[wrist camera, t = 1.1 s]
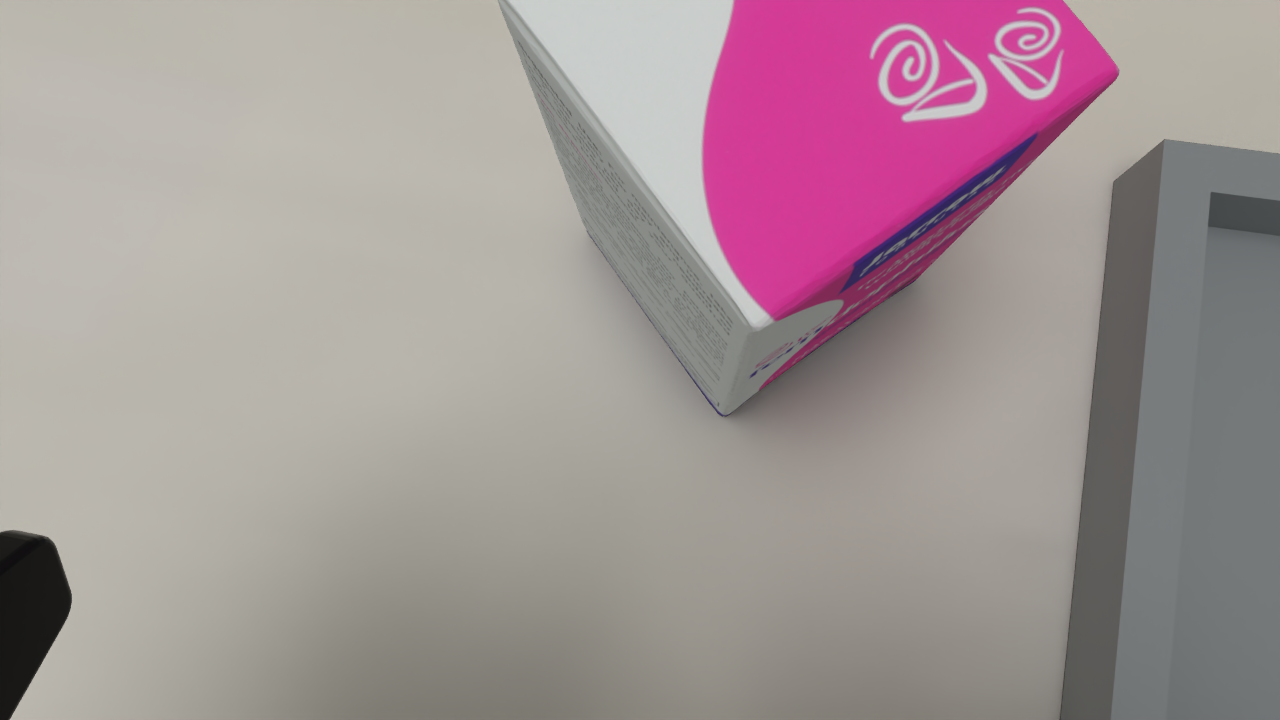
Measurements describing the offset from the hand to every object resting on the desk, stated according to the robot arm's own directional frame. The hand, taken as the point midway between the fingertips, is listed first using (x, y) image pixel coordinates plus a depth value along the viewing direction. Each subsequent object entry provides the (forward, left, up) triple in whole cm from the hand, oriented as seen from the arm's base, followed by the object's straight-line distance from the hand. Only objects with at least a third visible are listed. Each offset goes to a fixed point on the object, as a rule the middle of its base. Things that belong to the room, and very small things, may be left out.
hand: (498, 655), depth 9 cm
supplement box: (+8, -2, -14) cm, 16 cm away
